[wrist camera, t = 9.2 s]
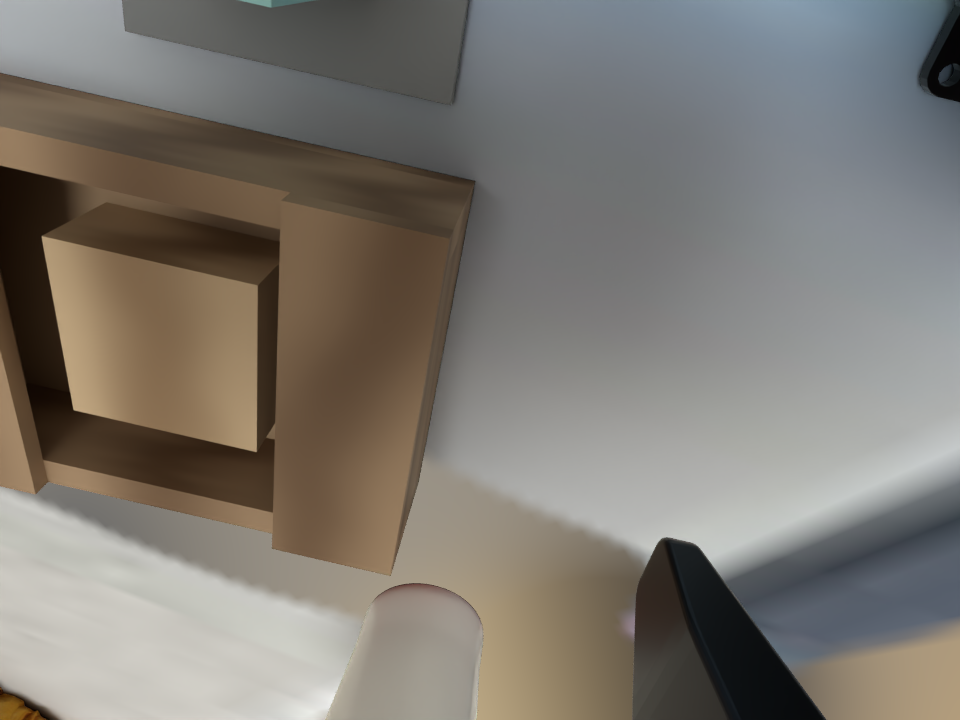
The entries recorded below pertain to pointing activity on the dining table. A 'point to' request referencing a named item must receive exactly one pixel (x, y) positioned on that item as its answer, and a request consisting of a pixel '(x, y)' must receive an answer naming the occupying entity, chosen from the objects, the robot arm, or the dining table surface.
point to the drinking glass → (413, 659)
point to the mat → (324, 37)
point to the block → (275, 2)
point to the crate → (220, 319)
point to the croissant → (16, 709)
